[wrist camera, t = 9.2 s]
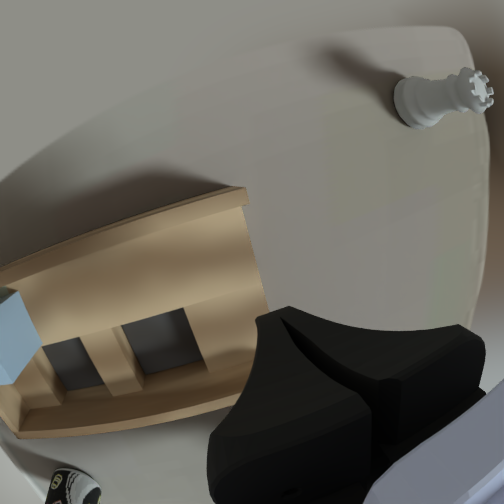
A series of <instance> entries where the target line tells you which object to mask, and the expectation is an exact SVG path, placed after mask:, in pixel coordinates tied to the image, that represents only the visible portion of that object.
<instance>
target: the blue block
mask: <svg viewBox="0 0 504 504" xmlns="http://www.w3.org/2000/svg"><path fill="white" fill-rule="evenodd" d="M42 344H43V343H42V341H41V339H40V337H39V335H38V333H37V331H36V329H35V327H34V325H33V323H32V321H31V318H30V316H29V314H28V312H27V310H26V307H25V305H24V303H23V301H22V298H21V296H20V293H19V291H16V292H14V293H11V294H8V295H6V296H3V297H0V385H7V384H13V383H14V382H15V380H16V379H17V377H18V376H19V375H20V373H21V372H22V370H23V369H24V368H25V366H26V365H27V364H28V362H29V361H30V360H31V358H32V357H33V356H34V354H35V353H36V352H37V350H38V349H39V348H40V346H41V345H42Z"/></svg>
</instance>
